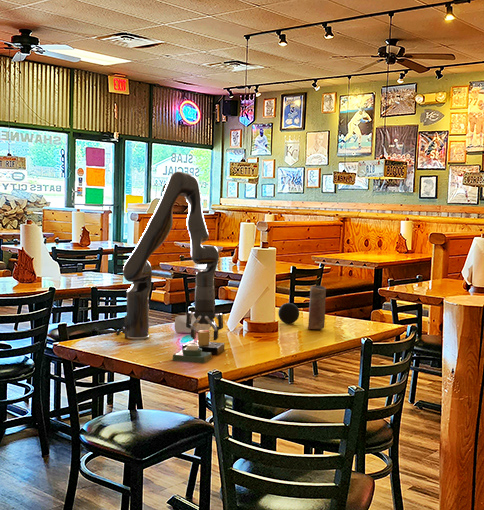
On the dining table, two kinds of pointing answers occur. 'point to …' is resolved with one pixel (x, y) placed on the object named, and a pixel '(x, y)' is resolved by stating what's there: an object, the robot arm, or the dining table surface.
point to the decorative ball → (288, 313)
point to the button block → (192, 356)
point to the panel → (208, 347)
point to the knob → (203, 337)
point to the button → (192, 347)
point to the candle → (317, 307)
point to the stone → (181, 324)
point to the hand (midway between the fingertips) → (204, 339)
